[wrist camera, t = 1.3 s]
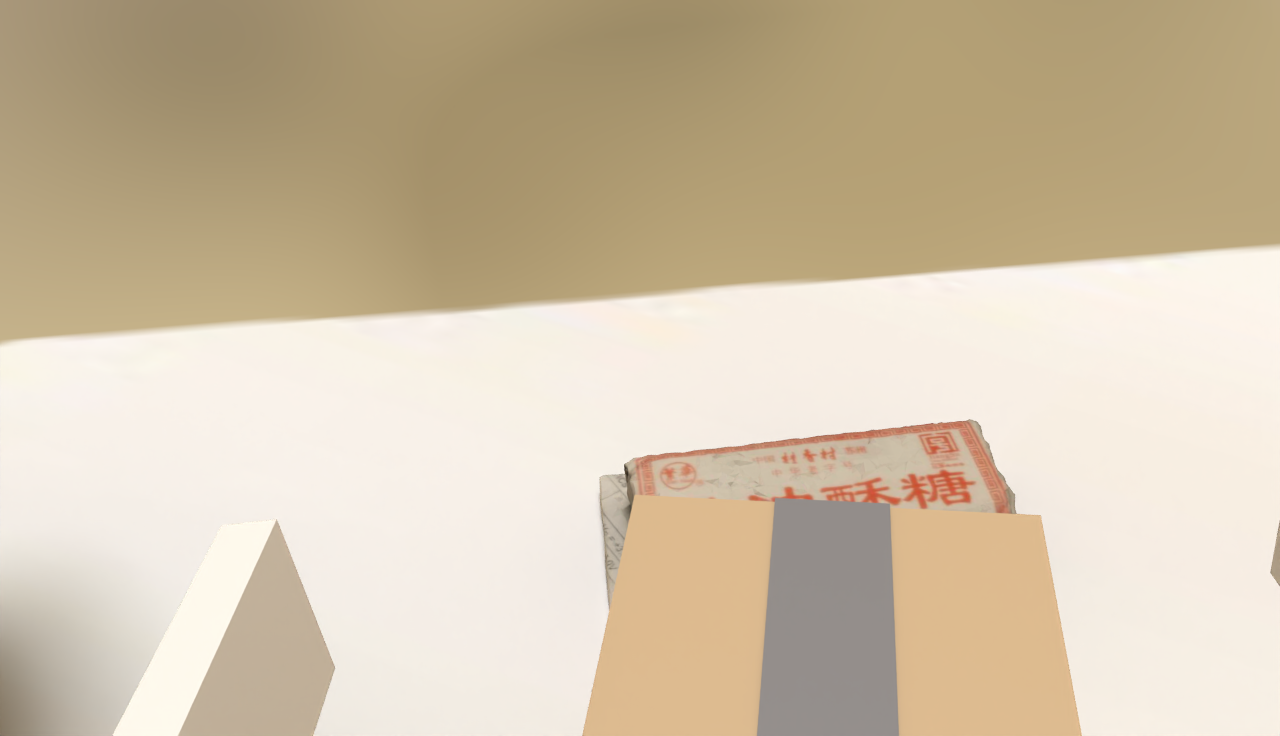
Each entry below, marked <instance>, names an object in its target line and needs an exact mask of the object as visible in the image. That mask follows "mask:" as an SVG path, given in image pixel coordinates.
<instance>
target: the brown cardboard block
mask: <svg viewBox="0 0 1280 736" xmlns="http://www.w3.org/2000/svg"><path fill="white" fill-rule="evenodd" d="M582 736H1082V734H1081V729H1080V723H1079V718H1078V712H1077V707H1076V702H1075V696H1074V691H1073V686H1072V680H1071V675H1070V670H1069V664H1068V659H1067V654H1066V648H1065V643H1064V638H1063V632H1062V627H1061V622H1060V616H1059V611H1058V606H1057V600H1056V595H1055V590H1054V584H1053V579H1052V573H1051V568H1050V563H1049V557H1048V552H1047V547H1046V541H1045V536H1044V531H1043V525H1042V520H1041V515H1025V514H1005V513H985V512H965V511H946V510H926V509H906V508H890V504H888V503H868V502H848V501H828V500H808V499H788V498H775V502H768V501H748V500H728V499H708V498H689V497H669V496H649V495H635V496H634V500H633V505H632V510H631V514H630V519H629V523H628V528H627V533H626V537H625V542H624V546H623V551H622V556H621V560H620V565H619V569H618V574H617V578H616V583H615V588H614V592H613V597H612V601H611V606H610V611H609V615H608V620H607V624H606V629H605V634H604V638H603V643H602V647H601V652H600V657H599V661H598V666H597V670H596V675H595V680H594V684H593V689H592V693H591V698H590V703H589V707H588V712H587V716H586V721H585V726H584V730H583V735H582Z"/></svg>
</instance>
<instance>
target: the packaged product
mask: <svg viewBox="0 0 1280 736" xmlns="http://www.w3.org/2000/svg"><path fill="white" fill-rule="evenodd" d="M624 470H625V474H619V475H604V476H601V477H600V505H601V514H602V521H603V527H604V538H605V565H606V577H607V588H608V600H609V611H610V606H611V601H612V597H613V592H614V588H615V583H616V578H617V574H618V569H619V565H620V560H621V556H622V551H623V546H624V542H625V537H626V533H627V528H628V523H629V519H630V514H631V510H632V505H633V500H634V496H635V495H649V496H669V497H689V498H708V499H728V500H748V501H768V502H775V498H788V499H808V500H828V501H848V502H868V503H888V504H890V508H906V509H926V510H946V511H965V512H985V513H1005V514H1016V510H1015V494H1014V493H1013V492H1012V490H1011V489H1010V488H1009V486H1008V485H1007V484H1006V481H1005V478H1004V476H1003V475H1002V474H1001V473H1000V472H999V471H998V470H997V468H996V466H995V463H994V460H993V456H992V453H991V450H990V446H989V444H988V443H987V442H986V441H985V440H984V437H983V435H982V430H981V426H980V425H979V424H978V422H977V421H973V420H970V419H969V420H967V421H957V422H949V423H942V422H941V423H938V424H933V423H931V424H925V425H916V426H909V427H907V426H905V427H901V428H889V429H882V430H870V431H866V432H853V433H843V434H837V435H824V436H815V437H810V438H804V439H796V438H795V439H788V440H782V441H776V442H764V443H758V444H750V445H745V446H738V447H724V448H717V449H706V450H696V451H690V452H685V453H664V454H660V455H647V456H644V457H640V458H633V459H632V460H631V461H629V462H628V463H626V464H624Z"/></svg>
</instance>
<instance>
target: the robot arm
mask: <svg viewBox="0 0 1280 736" xmlns="http://www.w3.org/2000/svg"><path fill="white" fill-rule="evenodd" d="M1270 573H1271V574H1272V576H1273V577H1274V579H1275V580H1276V581H1277V583H1278V584H1279V586H1280V522H1279V528H1278V533H1277V539H1276V544H1275V550H1274V555H1273V561H1272V566H1271V572H1270ZM334 670H335V666H334V664H333V661H332V659H331V656H330V654H329V651H328V648H327V646H326V643H325V641H324V638H323V636H322V633H321V631H320V628H319V626H318V623H317V620H316V618H315V615H314V613H313V610H312V608H311V605H310V603H309V600H308V598H307V595H306V593H305V590H304V587H303V585H302V582H301V580H300V577H299V575H298V572H297V570H296V567H295V565H294V562H293V560H292V557H291V554H290V552H289V549H288V547H287V544H286V542H285V539H284V537H283V534H282V532H281V529H280V526H279V524H278V521H277V519H274V520H265V521H257V522H248V523H239V524H230V525H221V527H220V529H219V531H218V533H217V535H216V537H215V539H214V541H213V543H212V545H211V546H210V548H209V550H208V552H207V554H206V556H205V558H204V560H203V562H202V564H201V566H200V568H199V570H198V572H197V573H196V575H195V577H194V579H193V581H192V583H191V585H190V587H189V589H188V591H187V593H186V595H185V597H184V598H183V600H182V602H181V604H180V606H179V608H178V610H177V612H176V614H175V616H174V618H173V620H172V622H171V624H170V625H169V627H168V629H167V631H166V633H165V635H164V637H163V639H162V641H161V643H160V645H159V647H158V649H157V650H156V652H155V654H154V656H153V658H152V660H151V662H150V664H149V666H148V668H147V670H146V672H145V674H144V676H143V677H142V679H141V681H140V683H139V685H138V687H137V689H136V691H135V693H134V695H133V697H132V699H131V701H130V702H129V704H128V706H127V708H126V710H125V712H124V714H123V716H122V718H121V720H120V722H119V724H118V726H117V728H116V729H115V731H114V733H113V735H112V736H313V734H314V731H315V728H316V725H317V722H318V719H319V716H320V713H321V710H322V706H323V703H324V700H325V697H326V694H327V691H328V688H329V685H330V682H331V679H332V676H333V673H334Z"/></svg>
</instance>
